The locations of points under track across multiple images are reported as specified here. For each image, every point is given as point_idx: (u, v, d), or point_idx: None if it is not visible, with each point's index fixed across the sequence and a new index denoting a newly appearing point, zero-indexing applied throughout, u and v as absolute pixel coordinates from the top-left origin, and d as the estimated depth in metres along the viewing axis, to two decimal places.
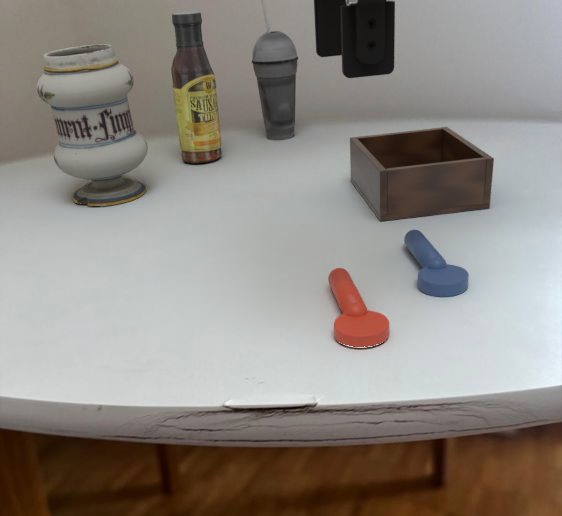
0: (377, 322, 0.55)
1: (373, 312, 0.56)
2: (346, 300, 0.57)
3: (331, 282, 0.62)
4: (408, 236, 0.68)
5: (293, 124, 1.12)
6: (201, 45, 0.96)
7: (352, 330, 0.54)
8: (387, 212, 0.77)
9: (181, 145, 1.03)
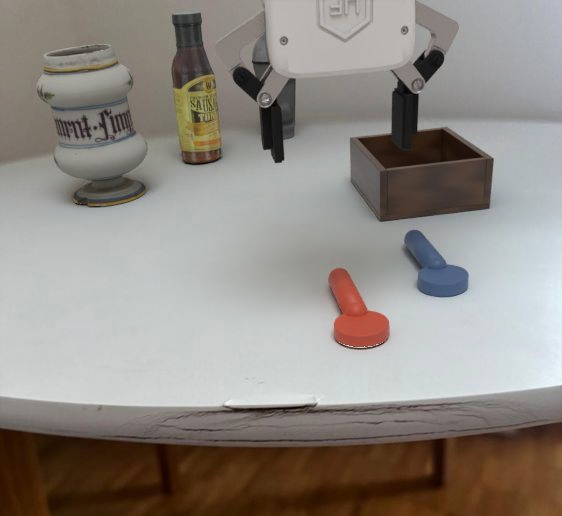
0: (377, 322, 0.55)
1: (373, 312, 0.56)
2: (346, 300, 0.57)
3: (331, 282, 0.62)
4: (408, 236, 0.68)
5: (293, 124, 1.12)
6: (201, 45, 0.96)
7: (352, 330, 0.54)
8: (387, 212, 0.77)
9: (181, 145, 1.03)
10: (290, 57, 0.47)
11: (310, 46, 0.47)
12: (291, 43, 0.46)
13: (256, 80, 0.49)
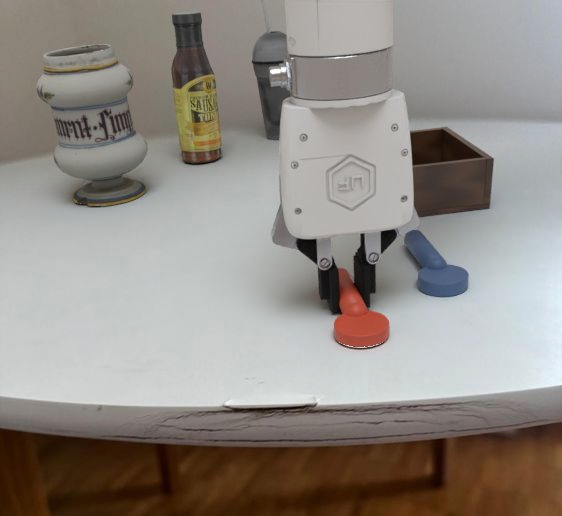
0: (377, 322, 0.55)
1: (373, 312, 0.56)
2: (346, 300, 0.57)
3: None
4: (408, 236, 0.68)
5: None
6: (201, 45, 0.96)
7: (352, 330, 0.54)
8: None
9: (181, 145, 1.03)
10: (303, 224, 0.53)
11: (321, 215, 0.53)
12: (304, 213, 0.53)
13: None
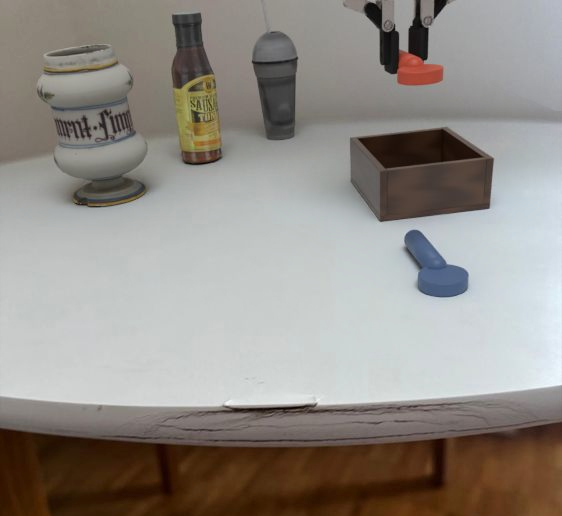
0: (434, 67, 0.67)
1: (428, 64, 0.68)
2: (405, 57, 0.69)
3: None
4: (408, 236, 0.68)
5: (293, 124, 1.12)
6: (201, 45, 0.96)
7: (414, 70, 0.66)
8: (387, 212, 0.77)
9: (181, 145, 1.03)
10: None
11: None
12: None
13: None
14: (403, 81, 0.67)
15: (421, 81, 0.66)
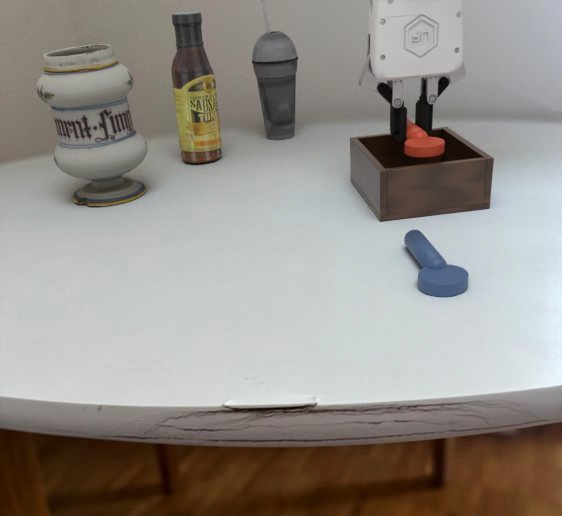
0: (436, 140, 0.77)
1: (432, 137, 0.79)
2: (412, 130, 0.80)
3: None
4: (408, 236, 0.68)
5: (293, 124, 1.12)
6: (201, 45, 0.96)
7: (419, 144, 0.76)
8: (387, 212, 0.77)
9: (181, 145, 1.03)
10: (386, 67, 0.75)
11: (398, 60, 0.75)
12: (387, 59, 0.75)
13: None
14: (409, 153, 0.77)
15: (425, 154, 0.76)
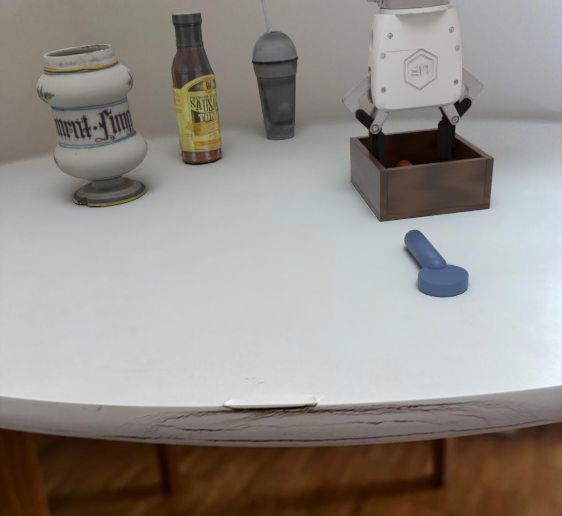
0: None
1: None
2: None
3: None
4: (408, 236, 0.68)
5: (293, 124, 1.12)
6: (201, 45, 0.96)
7: None
8: (387, 212, 0.77)
9: (181, 145, 1.03)
10: (386, 99, 0.77)
11: (399, 93, 0.77)
12: (387, 91, 0.77)
13: (370, 117, 0.80)
14: None
15: None
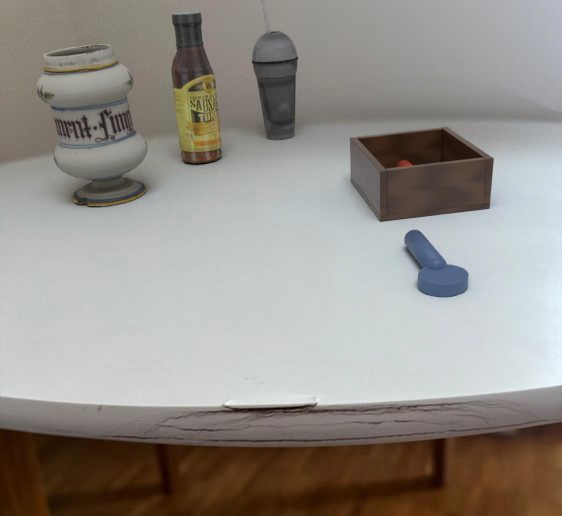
0: None
1: None
2: None
3: None
4: (408, 236, 0.68)
5: (293, 124, 1.12)
6: (201, 45, 0.96)
7: None
8: (387, 212, 0.77)
9: (181, 145, 1.03)
10: None
11: None
12: None
13: None
14: None
15: None
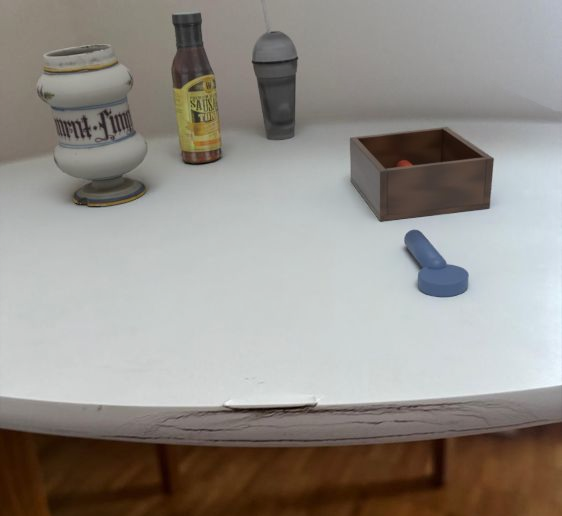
0: None
1: None
2: None
3: None
4: (408, 236, 0.68)
5: (293, 124, 1.12)
6: (201, 45, 0.96)
7: None
8: (387, 212, 0.77)
9: (181, 145, 1.03)
10: None
11: None
12: None
13: None
14: None
15: None
